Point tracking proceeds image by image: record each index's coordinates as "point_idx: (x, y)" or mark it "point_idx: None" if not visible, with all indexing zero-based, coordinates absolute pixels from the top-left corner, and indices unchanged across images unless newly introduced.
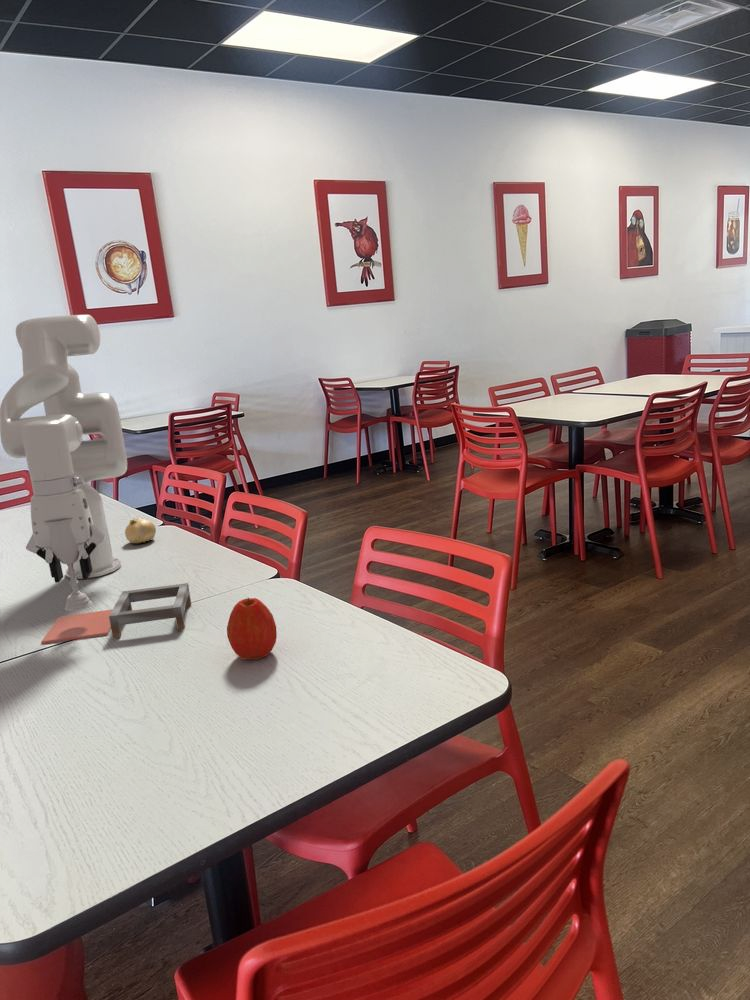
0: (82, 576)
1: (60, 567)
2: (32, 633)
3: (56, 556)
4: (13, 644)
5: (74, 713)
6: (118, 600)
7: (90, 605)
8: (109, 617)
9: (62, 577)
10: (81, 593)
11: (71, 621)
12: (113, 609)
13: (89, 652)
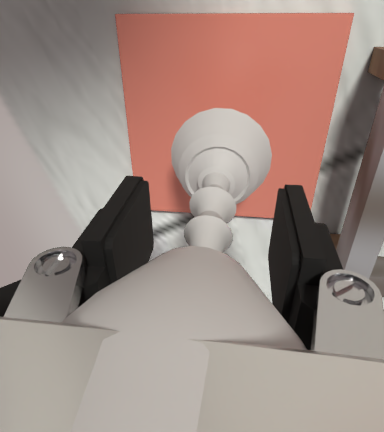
0: (269, 263)
1: (132, 227)
2: (77, 122)
3: (95, 288)
4: (61, 180)
5: None
6: (379, 174)
7: (267, 173)
8: None
9: (148, 194)
10: (239, 180)
11: (179, 89)
12: (353, 249)
13: (269, 286)
